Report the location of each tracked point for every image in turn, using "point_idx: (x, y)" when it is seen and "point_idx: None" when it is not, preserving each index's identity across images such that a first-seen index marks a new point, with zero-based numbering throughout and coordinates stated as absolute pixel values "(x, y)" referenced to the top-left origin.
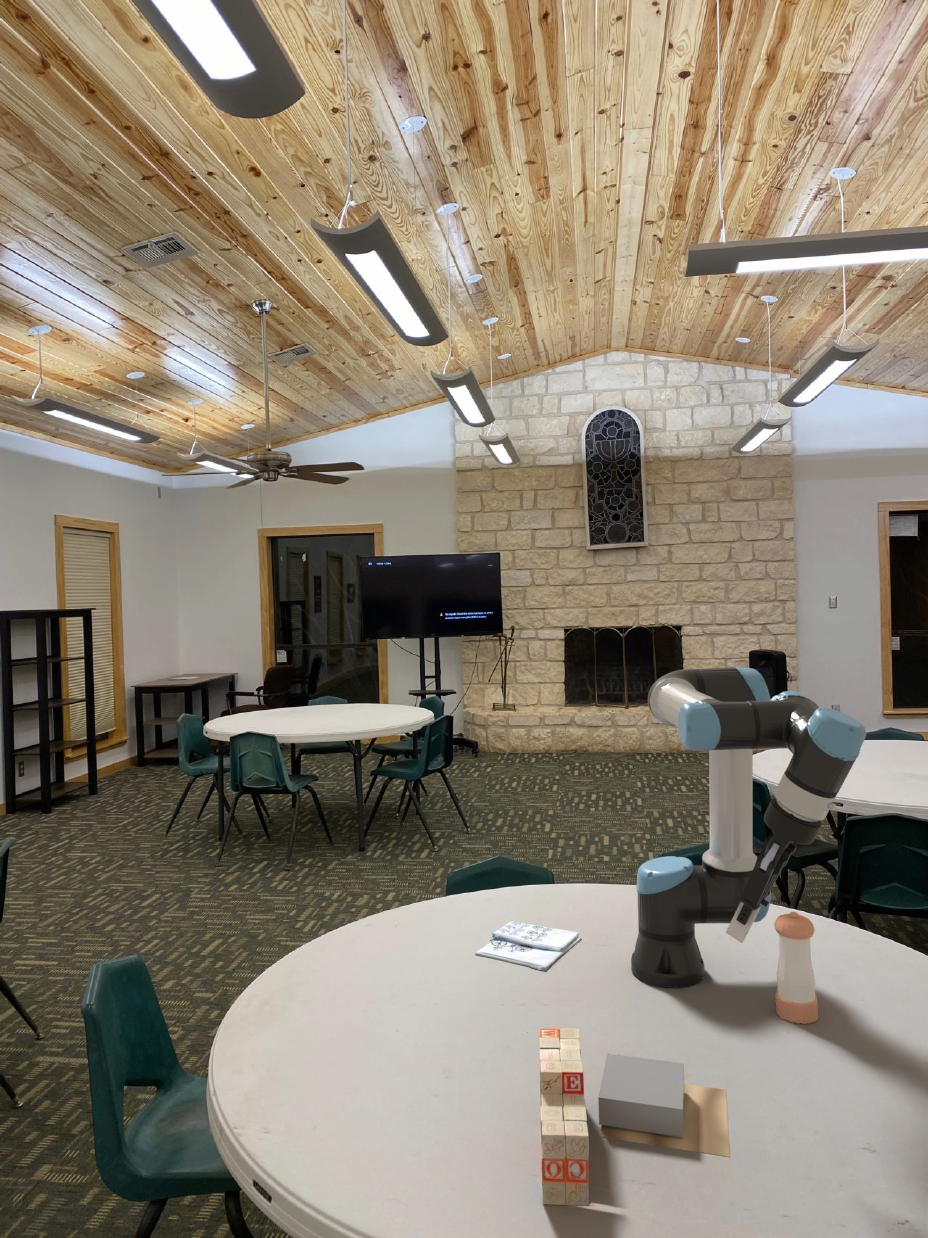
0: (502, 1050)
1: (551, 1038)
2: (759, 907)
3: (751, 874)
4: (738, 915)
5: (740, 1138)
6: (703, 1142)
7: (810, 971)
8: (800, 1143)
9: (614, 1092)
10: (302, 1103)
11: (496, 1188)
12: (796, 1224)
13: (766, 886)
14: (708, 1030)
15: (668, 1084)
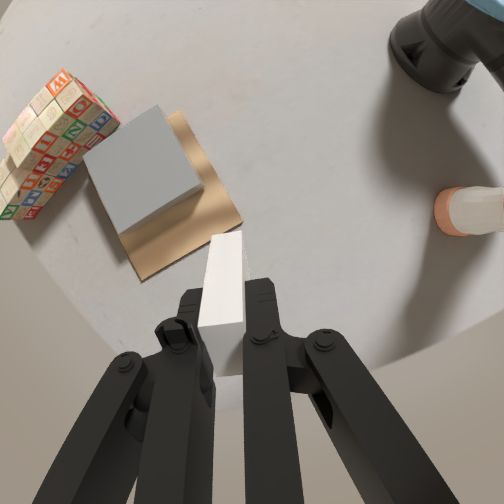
0: (154, 17)
1: (48, 94)
2: (235, 373)
3: (38, 493)
4: (179, 306)
5: (181, 271)
6: (141, 250)
7: (486, 232)
8: None
9: (98, 161)
10: (26, 14)
11: None
12: (119, 351)
13: (126, 499)
14: (355, 141)
15: (147, 195)
